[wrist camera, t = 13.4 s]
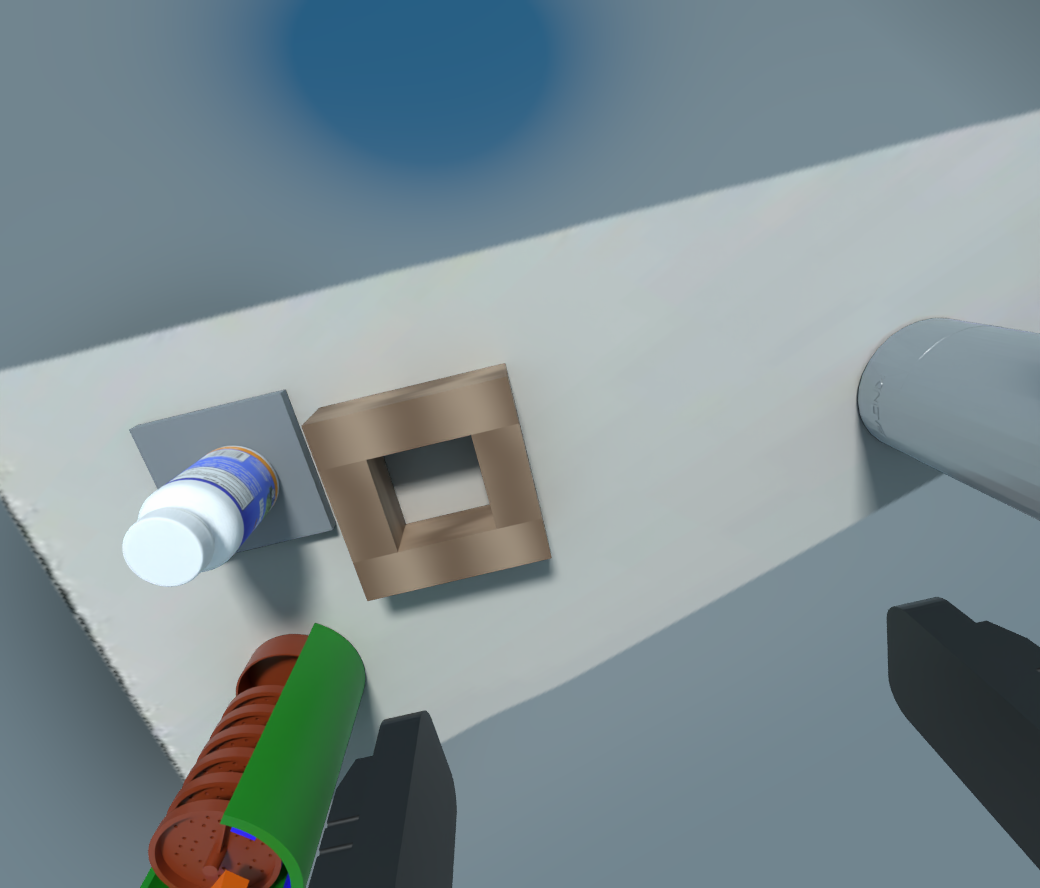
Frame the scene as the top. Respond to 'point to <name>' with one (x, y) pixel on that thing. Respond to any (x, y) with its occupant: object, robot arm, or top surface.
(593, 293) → the top surface
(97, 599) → the top surface
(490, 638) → the top surface
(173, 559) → the pill bottle
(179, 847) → the green brown cylinder
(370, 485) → the socket block
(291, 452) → the mat
